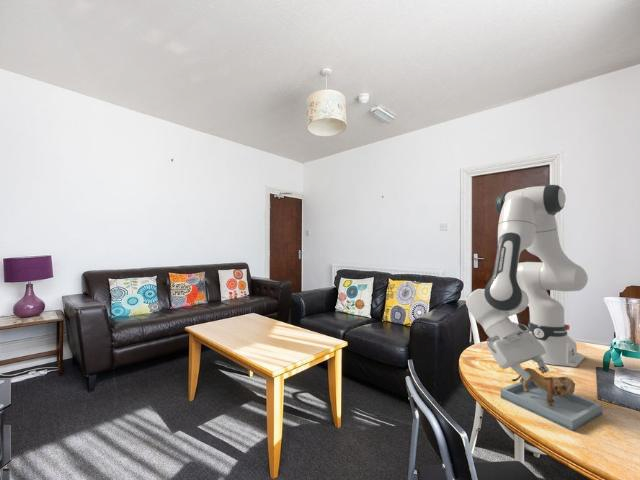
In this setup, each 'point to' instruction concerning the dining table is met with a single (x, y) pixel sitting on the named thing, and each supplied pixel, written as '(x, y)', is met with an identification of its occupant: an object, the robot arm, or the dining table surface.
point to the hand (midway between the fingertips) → (537, 375)
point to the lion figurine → (549, 385)
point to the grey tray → (563, 410)
